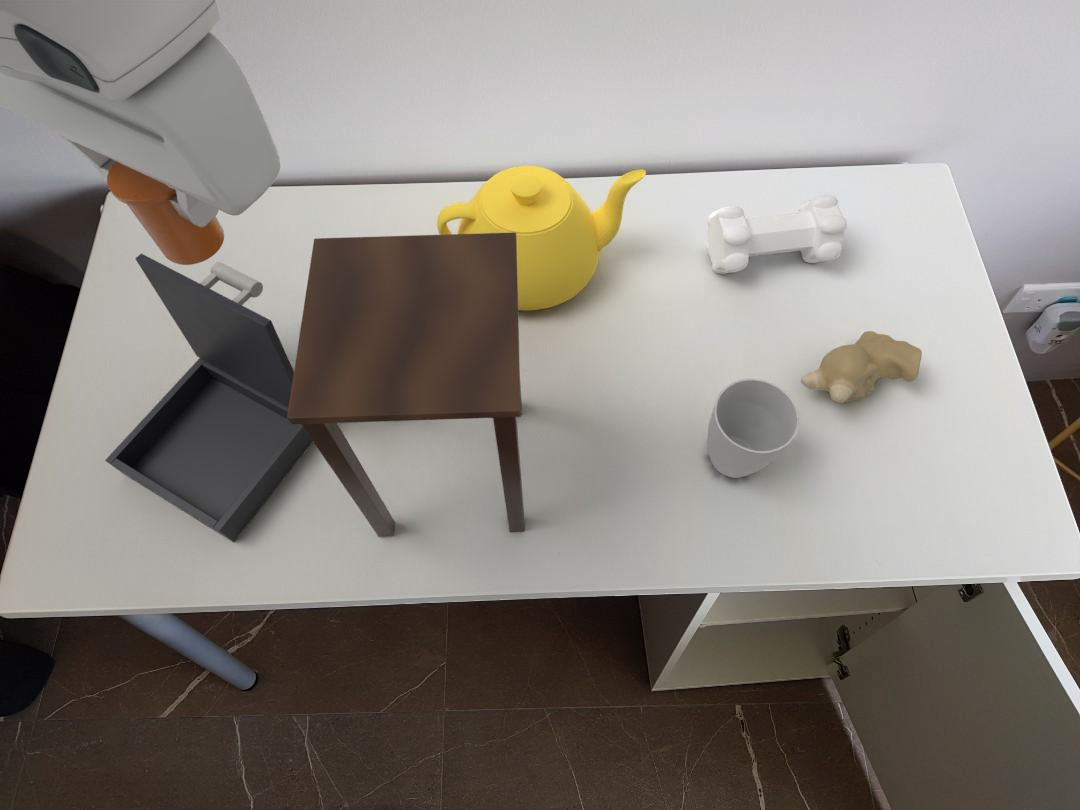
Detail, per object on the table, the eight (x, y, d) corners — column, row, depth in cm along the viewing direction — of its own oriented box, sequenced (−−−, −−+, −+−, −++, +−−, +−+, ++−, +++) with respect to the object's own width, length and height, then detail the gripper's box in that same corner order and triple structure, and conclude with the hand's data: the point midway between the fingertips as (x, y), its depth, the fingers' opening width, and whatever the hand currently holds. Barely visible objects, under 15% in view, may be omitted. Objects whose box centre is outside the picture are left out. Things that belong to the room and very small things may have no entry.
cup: (775, 491, 75) (805, 453, 66) (698, 490, 75) (719, 452, 66) (764, 423, 79) (792, 378, 70) (692, 422, 79) (710, 378, 70)
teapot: (620, 201, 95) (631, 116, 83) (647, 307, 86) (663, 231, 74) (434, 220, 93) (418, 137, 81) (443, 330, 85) (427, 256, 73)
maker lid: (265, 326, 62) (300, 290, 64) (134, 258, 65) (172, 227, 68) (307, 417, 75) (336, 385, 77) (196, 356, 78) (227, 327, 81)
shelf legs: (378, 536, 73) (297, 419, 49) (388, 407, 80) (321, 250, 56) (524, 531, 73) (515, 412, 49) (521, 403, 80) (511, 244, 56)
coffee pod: (196, 279, 45) (149, 212, 39) (142, 252, 46) (89, 183, 40) (243, 230, 46) (205, 160, 41) (190, 205, 48) (146, 133, 42)
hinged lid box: (234, 542, 73) (219, 531, 69) (123, 474, 77) (104, 460, 73) (321, 431, 79) (311, 416, 75) (215, 373, 82) (201, 356, 79)
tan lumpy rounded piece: (936, 356, 76) (861, 380, 71) (906, 407, 80) (834, 433, 75) (876, 317, 81) (802, 336, 76) (851, 366, 86) (780, 387, 80)
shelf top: (291, 424, 49) (286, 418, 48) (317, 246, 56) (313, 238, 56) (520, 417, 49) (520, 410, 48) (516, 240, 57) (516, 231, 56)
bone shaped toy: (810, 224, 92) (832, 178, 85) (832, 276, 88) (857, 232, 81) (699, 237, 92) (712, 191, 84) (716, 290, 88) (731, 247, 80)
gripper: (-208, -63, 31) (3, 172, 44) (131, 83, 27) (261, 301, 39) (-89, -130, 34) (79, 110, 46) (241, -7, 29) (330, 224, 41)
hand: (165, 198), depth 43 cm, fingers closed on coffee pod, 4 cm apart
